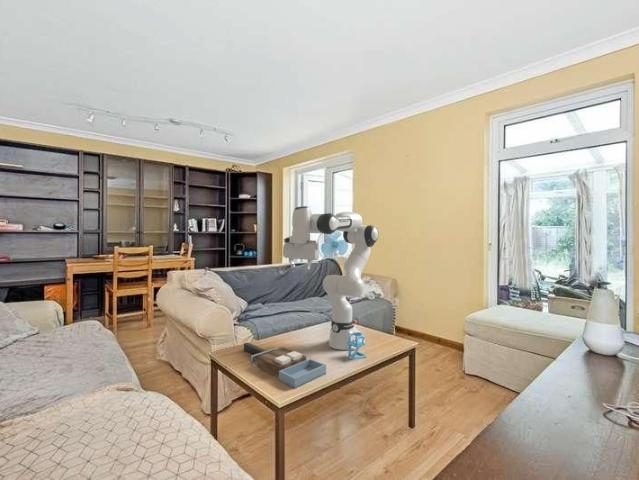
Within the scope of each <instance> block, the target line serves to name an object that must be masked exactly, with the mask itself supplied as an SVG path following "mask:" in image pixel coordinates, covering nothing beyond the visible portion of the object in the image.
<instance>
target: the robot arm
mask: <svg viewBox="0 0 639 480" xmlns="http://www.w3.org/2000/svg"><path fill="white" fill-rule="evenodd" d="M292 212H293V213H292V217H291V219H292V221H291V226H292V231H291V235H290V236H287V237H286V238H284V239H283V247H282V256H283V258H285V259H287V258H288V262H289V263H290V268H293V269H294V268H296V263H295V262H294V260H295V259H296V260H297V259H298V260H306V262H307V265H305V270H310V269H311V266H312V264H313V261H318V260H319V259H320V251H319V243H318V241H316V240H312V239H311V234H324V235H331V234H334V233H335V232H336V231H338V232H343V233H342V237H343V240H344V241H345V243H347V244H351V245H352V244H354V247H353V249H352V250H351V251H350V252H349V253H350V254H349V255H348V256H347V258H346V260H345V262H344V264H343V269H344V271H345V272H346V274H345V275H340V274H330V275H329V274H328V275H326V276H325V277H324V278H323V280H322V288H323V290H324V291H325V293H327V295H328V297H329V299H330V303H331V309H332V310H331V313H332V317H331V318H332V319H331V322H330V326H331V328H330V332H329V337H328V338H329V339H328V340H327V342H328V346H329V347H330V348H332V349H335V350H341V351H346V350H347V351H349V345H348V344H347V343H348V342H349V337H348V336H349V335H350V334H351V333H357V332H359V333H361V330H358V328H356V326H355V325H354V324H357V323H358V321H357V320H356V319H353V306H352V304H351V303H350V302H349V301H348V300H347V298H361V297H362V295H363V294H364V293H365V282H364V281H363V280H362V273H363V271H364V269H365V267H366V265H367V263H368V261H369V258H370V255H371V251H372V250H371V247H373V246H374V245H375V244H376V243H377V241H378V238H379V230H378V228H377V227H376V226H374V225H371V224H369V225H365V224H364V225H363V218H362V216H361V215H360V214H359V213H357V212H354V211H352V212H351V211H341V212H338V213H336V214H333V213H331V212H328V213H327V212H326V213H315V212H314V211H312V210H311V209H310V207H309V206H308V205H307V206H306V205H304V206H297V207H295V208H294V209H293V211H292ZM346 297H347V298H346ZM355 337H356V336H355V335H352V336H351V337H350V339H351V341H354V340H355ZM357 338H358V336H357ZM362 339H363V338H360V339H359V340H358V341H360V342H362ZM364 343H365V344H366V340H365V339H364ZM351 351H356V348H355V347H353V346H351Z"/></svg>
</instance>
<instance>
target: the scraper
mask: <svg viewBox="0 0 639 480" xmlns="http://www.w3.org/2000/svg"><path fill="white" fill-rule="evenodd" d="M278 349H280V347H278V346H277V347H273V348H270V349H267V350H266V349H263V348H262V347H259V346H257V345H255V344H252V343H250V342H245V343H243V352H244V353H247V354H249V355H250V365H252V366H255V365H257V356H260V355H263V354H266V353H269V352H272V351H275V350H278Z"/></svg>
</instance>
